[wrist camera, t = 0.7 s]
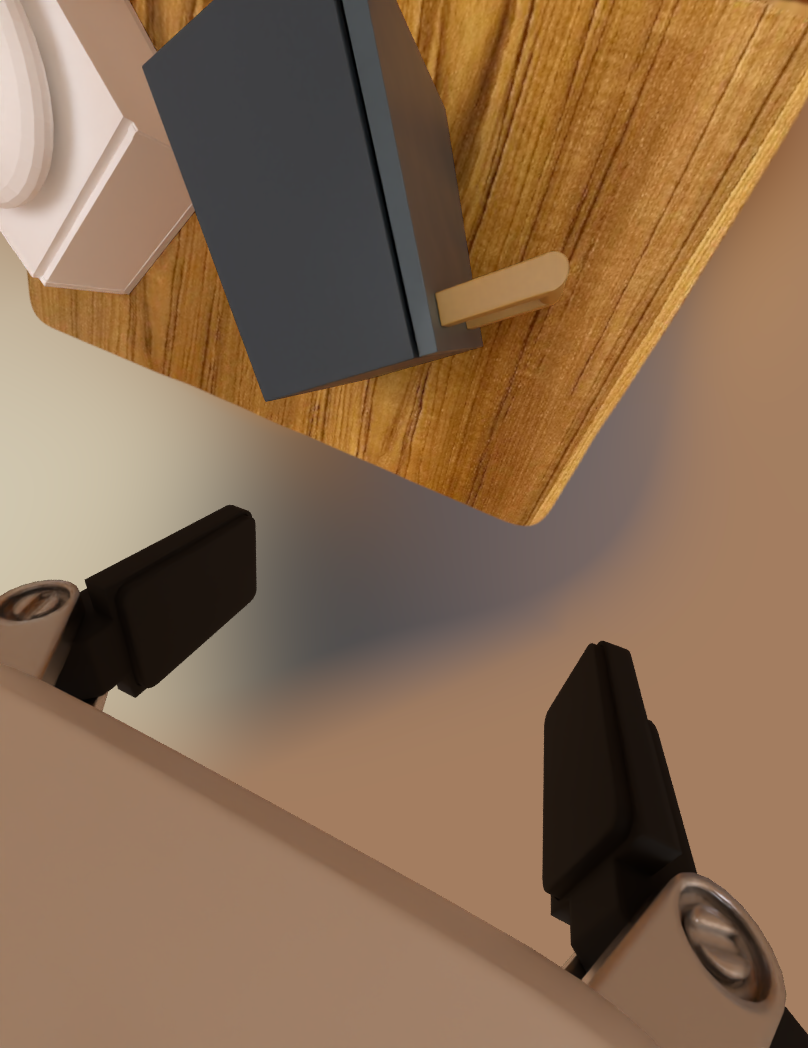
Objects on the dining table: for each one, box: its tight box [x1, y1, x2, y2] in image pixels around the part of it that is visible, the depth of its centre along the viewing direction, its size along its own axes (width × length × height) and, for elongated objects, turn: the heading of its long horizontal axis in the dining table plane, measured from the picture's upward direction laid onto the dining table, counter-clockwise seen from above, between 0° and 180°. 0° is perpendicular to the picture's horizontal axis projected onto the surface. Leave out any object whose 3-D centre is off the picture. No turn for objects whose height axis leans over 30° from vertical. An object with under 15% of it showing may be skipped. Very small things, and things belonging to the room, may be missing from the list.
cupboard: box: [142, 0, 469, 402], centre depth 25 cm, size 10×16×16 cm, turn 15°
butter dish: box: [0, 0, 195, 294], centre depth 28 cm, size 18×18×16 cm
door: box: [342, 0, 569, 357], centre depth 21 cm, size 7×16×15 cm, turn 15°
